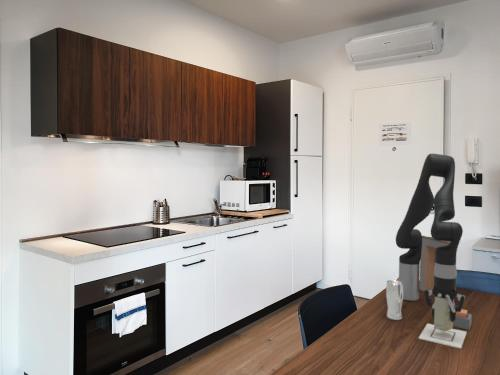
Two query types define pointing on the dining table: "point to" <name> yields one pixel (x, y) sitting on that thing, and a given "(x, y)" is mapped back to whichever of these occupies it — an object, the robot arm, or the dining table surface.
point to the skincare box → (442, 314)
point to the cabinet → (428, 262)
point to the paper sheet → (443, 336)
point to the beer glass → (394, 299)
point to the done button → (462, 314)
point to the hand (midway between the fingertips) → (443, 319)
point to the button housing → (463, 322)
